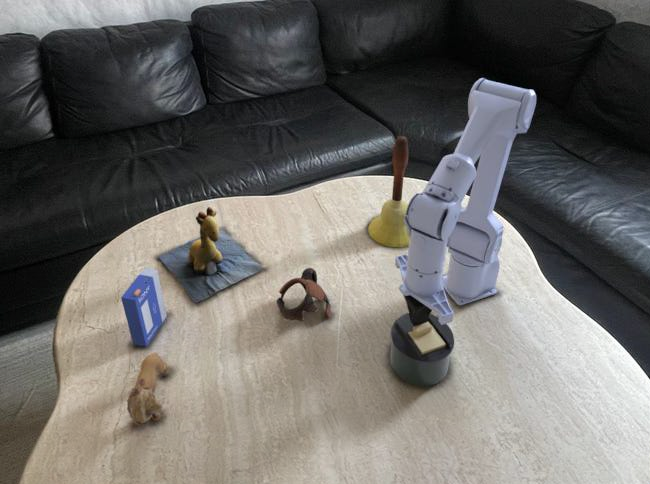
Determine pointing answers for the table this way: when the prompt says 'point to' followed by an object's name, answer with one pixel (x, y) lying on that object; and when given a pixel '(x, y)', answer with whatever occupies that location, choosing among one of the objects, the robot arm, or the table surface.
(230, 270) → the stuffed giraffe
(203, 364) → the table surface
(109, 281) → the table surface
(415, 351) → the canister
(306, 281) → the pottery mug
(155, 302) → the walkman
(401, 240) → the handbell
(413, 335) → the slider
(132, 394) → the lion figurine
